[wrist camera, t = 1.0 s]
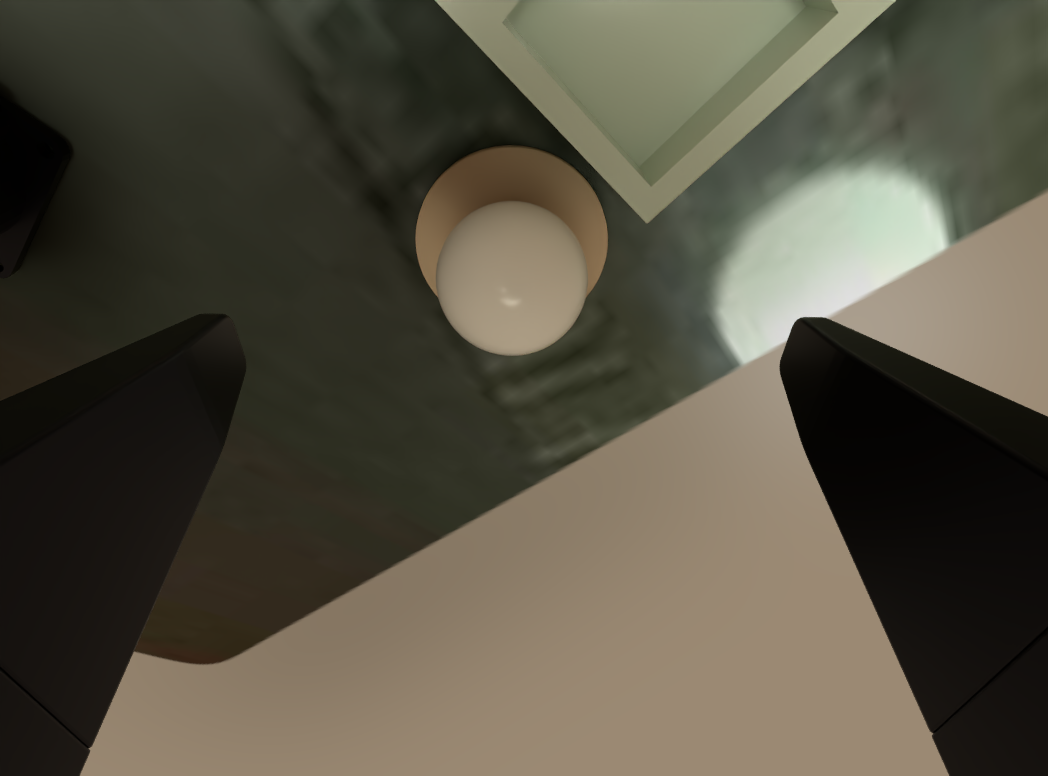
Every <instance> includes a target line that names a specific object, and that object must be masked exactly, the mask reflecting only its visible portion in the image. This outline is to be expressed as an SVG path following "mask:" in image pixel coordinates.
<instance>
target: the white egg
mask: <svg viewBox="0 0 1048 776" xmlns="http://www.w3.org/2000/svg"><path fill="white" fill-rule="evenodd" d="M587 287H588V269H587V263H586V259H585V255H584V252H583V250H582V247H581V245H580V243H579V241H578V239H577V237H576V236H575V234H574V233H573V232H572V230H571V229H570V228H569V227H568V226H567V225H566V224H565V223H564V221H562V220H561V219H560V218H559V217H558V216H556V215H555V214H553V213H552V212H550V211H549V210H547V209H545V208H542V207H540V206H538V205H534V204H531V203H527V202H521V201H502V202H496V203H492V204H488V205H486V206H483V207H480V208H479V209H477V210H475V211H473V212H471V213H470V214H468V215H467V216H466V217H464V218H463V219H462V220H461V221H460V222H459V223H458V224H457V225H456V226H455V227H454V228H453V230H452V231H451V232H450V234H449V235H448V237H447V238H446V240H445V242H444V244H443V247H442V249H441V252H440V254H439V257H438V262H437V268H436V288H437V293H438V298H439V302H440V305H441V308H442V310H443V312H444V314H445V316H446V317H447V319H448V321H449V322H450V324H451V325H452V327H453V328H454V329H455V330H456V331H457V332H458V333H459V334H460V335H461V336H462V337H463V338H464V339H466V340H467V341H468V342H470V343H471V344H473V345H474V346H476V347H478V348H480V349H482V350H485V351H487V352H490V353H495V354H499V355H506V356H517V355H525V354H530V353H534V352H537V351H540V350H542V349H544V348H547V347H548V346H550V345H552V344H553V343H555V342H556V341H557V340H559V339H560V338H561V337H562V336H563V335H564V334H565V333H566V332H567V331H568V330H569V329H570V328H571V327H572V325H573V324H574V323H575V321H576V319H577V318H578V316H579V314H580V312H581V310H582V308H583V305H584V302H585V298H586V294H587Z"/></svg>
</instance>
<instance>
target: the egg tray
mask: <svg viewBox="0 0 1048 776" xmlns="http://www.w3.org/2000/svg"><path fill="white" fill-rule="evenodd" d="M435 1H436V2H437V3H438V4H439V5H440V6H441V7H442V9H443V10H444V11H445V12H446V13H447V14H448V15H449V16H450V17H451V18H452V19H453V20H454V21H455V22H456V23H457V24H458V25H459V26H460V27H461V29H462V30H463V31H464V32H465V33H466V34H467V35H468V36H469V37H470V38H471V39H472V40H473V41H474V42H475V43H476V44H477V45H478V46H479V48H480V49H481V50H482V51H483V52H484V53H485V54H486V55H487V56H488V57H489V58H490V59H491V60H492V61H493V62H494V63H495V64H496V65H497V66H498V68H499V69H500V70H501V71H502V72H503V73H504V74H505V75H506V76H507V77H508V78H509V79H510V80H511V81H512V82H513V83H514V84H515V85H516V86H517V88H518V89H519V90H520V91H521V92H522V93H523V94H524V95H525V96H526V97H527V98H528V99H529V100H530V101H531V102H532V103H533V104H534V105H535V107H536V108H537V109H538V110H539V111H540V112H541V113H542V114H543V115H544V116H545V117H546V118H547V119H548V120H549V121H550V122H551V123H552V124H553V125H554V127H555V128H556V129H557V130H558V131H559V132H560V133H561V134H562V135H563V136H564V137H565V138H566V139H567V140H568V141H569V142H570V143H571V144H572V145H573V147H574V148H575V149H576V150H577V151H578V152H579V153H580V154H581V155H582V156H583V157H584V158H585V159H586V160H587V161H588V162H589V163H590V164H591V165H592V167H593V168H594V169H595V170H596V171H597V172H598V173H599V174H600V175H601V176H602V177H603V178H604V179H605V180H606V181H607V182H608V183H609V184H610V186H611V187H612V188H613V189H614V190H615V191H616V192H617V193H618V194H619V195H620V196H621V197H622V198H623V199H624V200H625V201H626V202H627V203H628V204H629V206H630V207H631V208H632V209H633V210H634V211H635V212H636V213H637V214H638V215H639V216H640V217H641V218H642V219H643V220H644V221H645V222H646V223H649V222H650V221H651V220H652V219H653V218H654V217H655V216H656V215H657V214H659V213H660V212H661V211H662V210H663V209H664V208H665V207H666V206H668V205H669V204H670V203H671V202H672V201H673V200H674V199H675V198H676V197H678V196H679V195H680V194H681V193H682V192H683V191H684V190H685V189H686V188H688V187H689V186H690V185H691V184H692V183H693V182H694V181H695V180H696V179H698V178H699V177H700V176H701V175H702V174H703V173H704V172H705V171H707V170H708V169H709V168H710V167H711V166H712V165H713V164H714V163H715V162H717V161H718V160H719V159H720V158H721V157H722V156H723V155H724V154H725V153H727V152H728V151H729V150H730V149H731V148H732V147H733V146H734V145H735V144H737V143H738V142H739V141H740V140H741V139H742V138H743V137H744V136H745V135H747V134H748V133H749V132H750V131H751V130H752V129H753V128H754V127H756V126H757V125H758V124H759V123H760V122H761V121H762V120H763V119H764V118H766V117H767V116H768V115H769V114H770V113H771V112H772V111H773V110H774V109H776V108H777V107H778V106H779V105H780V104H781V103H782V102H783V101H784V100H786V99H787V98H788V97H789V96H790V95H791V94H792V93H793V92H795V91H796V90H797V89H798V88H799V87H800V86H801V85H802V84H803V83H805V82H806V81H807V80H808V79H809V78H810V77H811V76H812V75H813V74H815V73H816V72H817V71H818V70H819V69H820V68H821V67H822V66H823V65H825V64H826V63H827V62H828V61H829V60H830V59H831V58H832V57H833V56H835V55H836V54H837V53H838V52H839V51H840V50H841V49H842V48H844V47H845V46H846V45H847V44H848V43H849V42H850V41H851V40H852V39H854V38H855V37H856V36H857V35H858V34H859V33H860V32H861V31H862V30H864V29H865V28H866V27H867V26H868V25H869V24H870V23H871V22H872V21H874V20H875V19H876V18H877V17H878V16H879V15H880V14H881V13H883V12H884V11H885V10H886V9H887V8H888V7H889V6H890V5H891V4H893V3H894V2H895V1H896V0H435Z"/></svg>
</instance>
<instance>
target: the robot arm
mask: <svg viewBox="0 0 1048 776" xmlns="http://www.w3.org/2000/svg"><path fill="white" fill-rule="evenodd" d="M45 143H46V144H48V145H49V146H50V147H51V148H52V149H53V151H54V154H52V153H50V152H49V151H48V150H47V149H46V147H45V145H44V144H45ZM69 158H70V150H69V147H68V145H67V144H66V142H65V141H64V140H63V139H62V138H61V137H60V136H59V135H57V134H56V133H54V132H53V131H51V130H50V129H48V128H47V127H46V126H44V125H43V124H41V123H40V122H38V121H37V120H35V119H34V118H32V117H31V116H29V115H28V114H26V113H25V112H23V111H22V110H21V109H19V108H18V107H16V106H15V105H13V104H12V103H10V102H9V101H7V100H6V99H4V98H3V97H1V96H0V263H1V264H2V265H3V266H1V265H0V278H7V277H9V276H11V275H12V274H14V273H15V272H16V271H17V270H18V269H19V267H20V265H21V263H22V261H23V258H24V256H25V254H26V252H27V250H28V247H29V245H30V243H31V241H32V239H33V237H34V234H35V232H36V230H37V228H38V226H39V224H40V221H41V219H42V217H43V215H44V213H45V210H46V208H47V206H48V204H49V202H50V200H51V197H52V195H53V193H54V191H55V189H56V187H57V184H58V182H59V180H60V178H61V176H62V173H63V171H64V169H65V167H66V165H67V163H68V160H69ZM245 373H246V359H245V355H244V352H243V349H242V347H241V344H240V341H239V338H238V335H237V332H236V329H235V326H234V323H233V321H232V320H231V318H230V317H229V316H227V315H226V314H199V315H196V316H194V317H191V318H189V319H187V320H185V321H182V322H180V323H178V324H175V325H173V326H171V327H169V328H166V329H164V330H162V331H160V332H157V333H155V334H153V335H150V336H148V337H146V338H144V339H141V340H139V341H137V342H134V343H132V344H130V345H128V346H125V347H123V348H121V349H118V350H116V351H114V352H112V353H109V354H107V355H105V356H102V357H100V358H98V359H96V360H93V361H91V362H89V363H87V364H84V365H82V366H80V367H77V368H75V369H73V370H71V371H68V372H66V373H64V374H61V375H59V376H57V377H55V378H52V379H50V380H48V381H45V382H43V383H41V384H39V385H36V386H34V387H32V388H29V389H27V390H25V391H23V392H20V393H18V394H16V395H14V396H11V397H9V398H7V399H4V400H2V401H0V776H80V773H81V771H82V769H83V767H84V764H85V762H86V760H87V758H88V755H89V753H90V750H89V749H88V748H90V747H92V745H93V743H94V741H95V738H96V736H97V734H98V732H99V729H100V727H101V725H102V723H103V720H104V718H105V716H106V713H107V711H108V709H109V706H110V704H111V702H112V699H113V697H114V695H115V693H116V691H117V688H118V686H119V684H120V682H121V679H122V677H123V675H124V672H125V670H126V668H127V666H128V664H129V661H130V659H131V656H132V654H133V652H134V650H135V648H136V645H137V643H138V641H139V639H140V636H141V634H142V632H143V629H144V627H145V625H146V623H147V620H148V618H149V616H150V614H151V611H152V609H153V607H154V605H155V602H156V600H157V598H158V595H159V593H160V591H161V589H162V586H163V584H164V582H165V580H166V577H167V575H168V573H169V570H170V568H171V566H172V564H173V561H174V559H175V557H176V555H177V552H178V550H179V548H180V546H181V543H182V541H183V539H184V536H185V534H186V532H187V530H188V527H189V525H190V523H191V521H192V518H193V516H194V514H195V511H196V509H197V507H198V505H199V502H200V500H201V498H202V496H203V493H204V491H205V489H206V486H207V484H208V482H209V480H210V477H211V475H212V473H213V471H214V468H215V466H216V464H217V461H218V459H219V457H220V454H221V452H222V449H223V446H224V443H225V440H226V437H227V434H228V430H229V427H230V424H231V420H232V417H233V414H234V410H235V407H236V403H237V400H238V397H239V393H240V390H241V387H242V383H243V380H244V376H245ZM780 375H781V378H782V381H783V385H784V388H785V391H786V394H787V398H788V401H789V404H790V407H791V411H792V414H793V417H794V420H795V424H796V427H797V430H798V433H799V436H800V440H801V442H802V445H803V448H804V450H805V453H806V455H807V458H808V460H809V462H810V465H811V467H812V469H813V472H814V474H815V476H816V478H817V480H818V483H819V485H820V487H821V489H822V492H823V494H824V496H825V498H826V501H827V503H828V505H829V507H830V510H831V512H832V514H833V516H834V518H835V520H836V523H837V525H838V527H839V530H840V532H841V534H842V536H843V538H844V541H845V543H846V545H847V547H848V550H849V552H850V554H851V556H852V558H853V561H854V563H855V565H856V568H857V570H858V572H859V574H860V576H861V579H862V581H863V583H864V585H865V587H866V590H867V592H868V594H869V596H870V599H871V601H872V603H873V605H874V608H875V610H876V612H877V614H878V617H879V619H880V621H881V623H882V626H883V628H884V630H885V632H886V635H887V637H888V639H889V641H890V643H891V646H892V648H893V650H894V652H895V655H896V656H897V659H898V661H899V664H900V666H901V668H902V670H903V672H904V674H905V677H906V679H907V681H908V683H909V686H910V688H911V690H912V693H913V695H914V697H915V699H916V701H917V704H918V706H919V708H920V710H921V713H922V715H923V717H924V719H925V721H926V724H927V726H928V728H929V730H930V732H932V733H933V735H932V738H933V740H934V742H935V745H936V747H937V749H938V751H939V754H940V756H941V758H942V760H943V762H944V765H945V767H946V769H947V772H948V774H949V776H1048V417H1047V416H1045V415H1043V414H1041V413H1039V412H1036V411H1034V410H1032V409H1030V408H1027V407H1025V406H1023V405H1021V404H1018V403H1016V402H1014V401H1012V400H1009V399H1007V398H1005V397H1003V396H1000V395H998V394H996V393H994V392H991V391H989V390H987V389H985V388H982V387H980V386H978V385H975V384H973V383H971V382H969V381H966V380H964V379H962V378H960V377H958V376H955V375H953V374H951V373H949V372H946V371H944V370H942V369H940V368H937V367H935V366H933V365H931V364H928V363H926V362H924V361H921V360H920V359H917V358H915V357H913V356H910V355H908V354H906V353H903V352H901V351H899V350H897V349H895V348H893V347H890V346H888V345H886V344H883V343H881V342H879V341H877V340H874V339H872V338H870V337H868V336H866V335H863V334H861V333H859V332H857V331H854V330H852V329H850V328H847V327H845V326H843V325H841V324H839V323H836V322H834V321H832V320H830V319H827V318H823V317H802V318H799V319H798V320H796V322H795V323H794V325H793V327H792V329H791V332H790V335H789V338H788V340H787V343H786V346H785V349H784V352H783V354H782V357H781V360H780Z"/></svg>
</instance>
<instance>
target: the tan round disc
mask: <svg viewBox="0 0 1048 776" xmlns="http://www.w3.org/2000/svg"><path fill="white" fill-rule="evenodd" d="M502 201H521V202H527V203H531V204H534V205H538V206H540V207H542V208H545V209H547V210H549V211H550V212H552V213H553V214H555V215H556V216H558V217H559V218H560V219H561V220H562V221H564V223H565V224H566V225H567V226H568V227H569V228H570V229H571V230H572V232H573V233H574V234H575V236H576V237H577V239H578V241H579V243H580V245H581V247H582V250H583V252H584V255H585V259H586V263H587V269H588V287H587V294H586V297H587V296H588V294H589V293H590V292H591V290H592V289H593V288H594V286H595V284H596V283H597V281H598V279H599V277H600V274H601V272H602V270H603V267H604V263H605V260H606V255H607V248H608V232H607V224H606V220H605V216H604V213H603V209H602V206H601V204H600V202H599V200H598V197H597V195H596V193H595V192H594V190H593V189H592V187H591V185H590V184H589V183H588V181H587V180H586V179H585V178H584V177H583V176H582V174H581V173H580V172H578V171H577V170H576V169H575V168H574V167H573V166H572V165H570V164H569V163H567V162H566V161H564V160H563V159H561V158H560V157H558V156H555V155H553V154H551V153H549V152H547V151H544V150H541V149H537V148H534V147H528V146H522V145H502V146H494V147H489V148H485V149H481V150H479V151H476V152H474V153H471V154H469V155H467V156H465V157H463V158H461V159H460V160H458V161H456V162H455V163H454V164H453V165H451V166H450V167H449V168H447V169H446V170H445V171H444V172H443V173H442V174H441V175H440V176H439V177H438V178H437V180H436V181H435V183H434V184H433V185H432V187H431V188H430V190H429V192H428V194H427V195H426V197H425V199H424V202H423V204H422V207H421V210H420V213H419V216H418V221H417V226H416V238H415V241H416V252H417V257H418V261H419V265H420V267H421V270H422V273H423V275H424V277H425V279H426V281H427V283H428V285H429V286H430V287H431V289H432V290H433V292H434V293H435V294H436V296H437V297H438V293H437V288H436V268H437V262H438V257H439V254H440V252H441V249H442V247H443V244H444V242H445V240H446V238H447V237H448V235H449V234H450V232H451V231H452V230H453V228H454V227H455V226H456V225H457V224H458V223H459V222H460V221H461V220H462V219H463V218H464V217H466V216H467V215H468V214H470V213H471V212H473V211H475V210H477V209H479V208H480V207H483V206H486V205H488V204H492V203H496V202H502Z"/></svg>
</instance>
